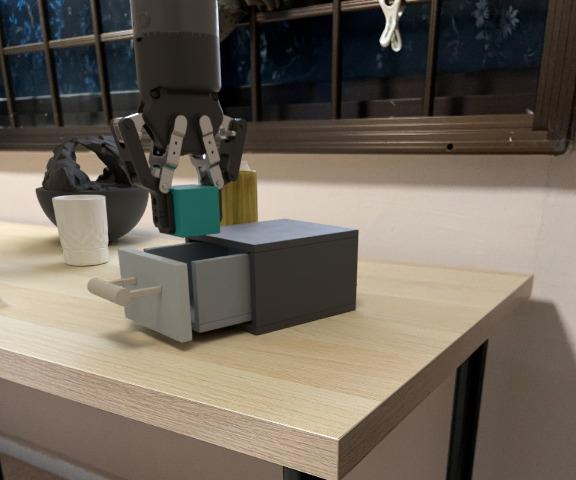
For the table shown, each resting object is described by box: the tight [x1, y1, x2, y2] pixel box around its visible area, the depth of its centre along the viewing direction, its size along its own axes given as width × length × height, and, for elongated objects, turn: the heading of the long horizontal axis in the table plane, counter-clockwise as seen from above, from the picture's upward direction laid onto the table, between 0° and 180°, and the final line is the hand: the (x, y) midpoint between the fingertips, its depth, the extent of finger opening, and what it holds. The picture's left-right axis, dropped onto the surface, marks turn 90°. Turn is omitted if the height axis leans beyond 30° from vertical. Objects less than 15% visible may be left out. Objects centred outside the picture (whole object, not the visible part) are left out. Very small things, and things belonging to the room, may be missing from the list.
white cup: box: [52, 195, 110, 267], centre depth 96 cm, size 8×8×10 cm
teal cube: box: [166, 183, 220, 239], centre depth 60 cm, size 4×4×4 cm
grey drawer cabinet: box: [184, 218, 360, 336], centre depth 69 cm, size 15×13×9 cm
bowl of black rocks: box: [34, 134, 150, 242], centre depth 112 cm, size 20×20×19 cm
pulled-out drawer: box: [86, 241, 252, 344], centre depth 62 cm, size 18×11×7 cm, turn 131°
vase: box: [220, 169, 259, 226], centre depth 85 cm, size 6×6×14 cm
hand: (189, 229), depth 60 cm, fingers closed on teal cube, 4 cm apart
